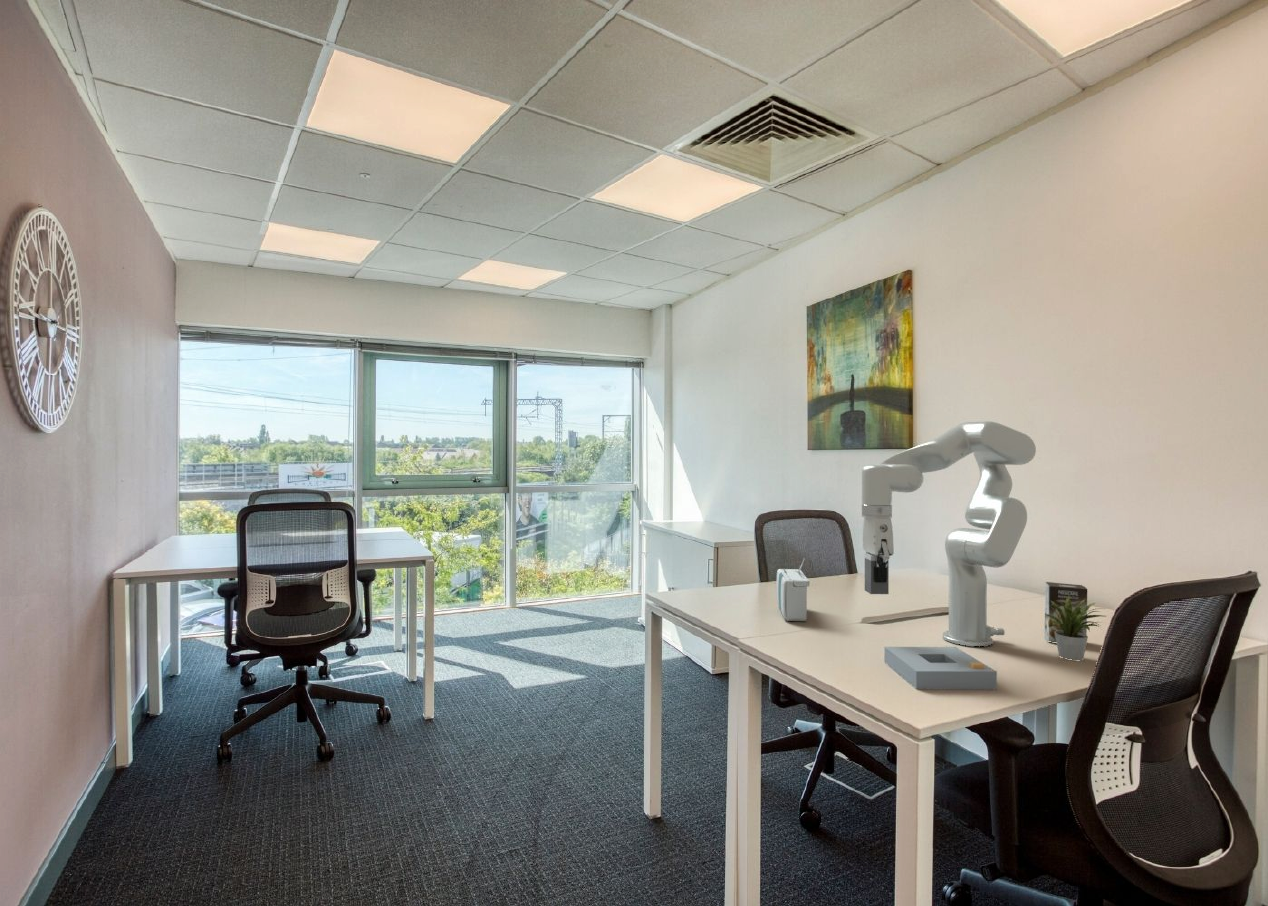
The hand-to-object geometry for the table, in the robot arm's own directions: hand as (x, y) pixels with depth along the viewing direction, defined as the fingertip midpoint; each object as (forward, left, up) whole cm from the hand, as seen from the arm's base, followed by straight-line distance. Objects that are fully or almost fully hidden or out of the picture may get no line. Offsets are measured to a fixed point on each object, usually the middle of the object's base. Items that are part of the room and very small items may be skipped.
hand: (876, 579), depth 169 cm
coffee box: (-57, -9, -20) cm, 61 cm away
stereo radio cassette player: (+13, -39, -20) cm, 46 cm away
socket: (-8, +18, -19) cm, 27 cm away
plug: (0, 0, -3) cm, 3 cm away
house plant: (-48, +6, -19) cm, 52 cm away
